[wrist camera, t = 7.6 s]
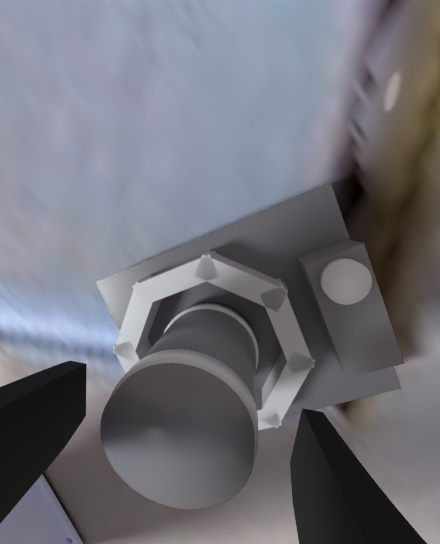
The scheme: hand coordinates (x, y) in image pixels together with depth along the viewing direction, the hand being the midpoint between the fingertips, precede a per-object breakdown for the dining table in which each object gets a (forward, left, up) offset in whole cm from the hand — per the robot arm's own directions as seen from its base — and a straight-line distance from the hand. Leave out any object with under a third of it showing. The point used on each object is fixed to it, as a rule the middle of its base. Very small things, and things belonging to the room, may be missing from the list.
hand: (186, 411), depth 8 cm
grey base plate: (0, -2, -7) cm, 7 cm away
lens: (0, 0, -5) cm, 5 cm away
